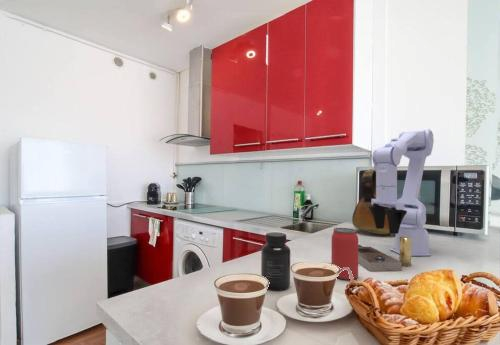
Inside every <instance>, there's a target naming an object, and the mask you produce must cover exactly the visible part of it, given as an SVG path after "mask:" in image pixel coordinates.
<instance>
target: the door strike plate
mask: <svg viewBox="0 0 500 345" xmlns="http://www.w3.org/2000/svg"><path fill="white" fill-rule="evenodd" d="M358 265H360V266H362V268H364V269H366V270H367V271H369V272H402V271H403V270H402V262H400V260H398V259H396V258H394V257H392V256H390V255H388V254H387V253H384V252H382V251H380V250H379V249H376V248H374V247H372V246H363V245H361V244H358Z"/></svg>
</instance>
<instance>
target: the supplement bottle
mask: <svg viewBox="0 0 500 345" xmlns="http://www.w3.org/2000/svg"><path fill="white" fill-rule="evenodd" d="M287 241H288V240H287V234H286V233H283V232H277V231H276V232H267V233H266V234H265V244H264V245H263V246H262V248H261V253H260V254H261V255H260V256H261V257H260V258H261V259H260V260H261V263H260V264H261V266H260V267H261V269H260V271H261V272H260V275H262V276H264V277H266V278H267V279H268V280H269V282H270V284H269V287H268V289H267V290H270V291H273V292H274V291H277V292H278V291H279V292H280V291H284V290H287V289H289V288H290V286H291V248H290V247H289V246H288V244H287Z"/></svg>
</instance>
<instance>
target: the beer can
mask: <svg viewBox="0 0 500 345" xmlns="http://www.w3.org/2000/svg"><path fill="white" fill-rule="evenodd" d="M358 245H359V237H358V234H357V230H356V229H354V228H350V227H349V228H348V227H336V228H333V233H332V235H331V265H332V264H335V265H337V266H339V267H340V268H343V267H349V268H350V270H351V271H352V274H353V277H354V279H353V280H356V279H357V278H359V264H358ZM338 279H340V280H344V281H350V280H349V274H348V271H347V270H344V271H342V272H341V273H340V274H339V276H338Z"/></svg>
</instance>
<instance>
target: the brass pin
mask: <svg viewBox="0 0 500 345" xmlns="http://www.w3.org/2000/svg"><path fill="white" fill-rule="evenodd" d="M399 253H400V254H399ZM399 253H398V254H399V261H400V262H402V266H403V267H411V266H412V256H411V238H410V237H399Z"/></svg>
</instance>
